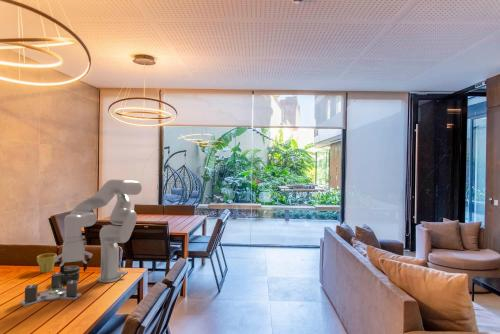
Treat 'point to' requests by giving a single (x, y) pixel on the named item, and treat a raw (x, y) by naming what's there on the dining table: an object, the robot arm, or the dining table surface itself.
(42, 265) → the plant pot
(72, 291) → the knob
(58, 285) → the knob
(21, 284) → the dining table surface
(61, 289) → the tribrach base
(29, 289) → the knob
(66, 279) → the jar
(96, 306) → the dining table surface
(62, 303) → the dining table surface
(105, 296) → the dining table surface
